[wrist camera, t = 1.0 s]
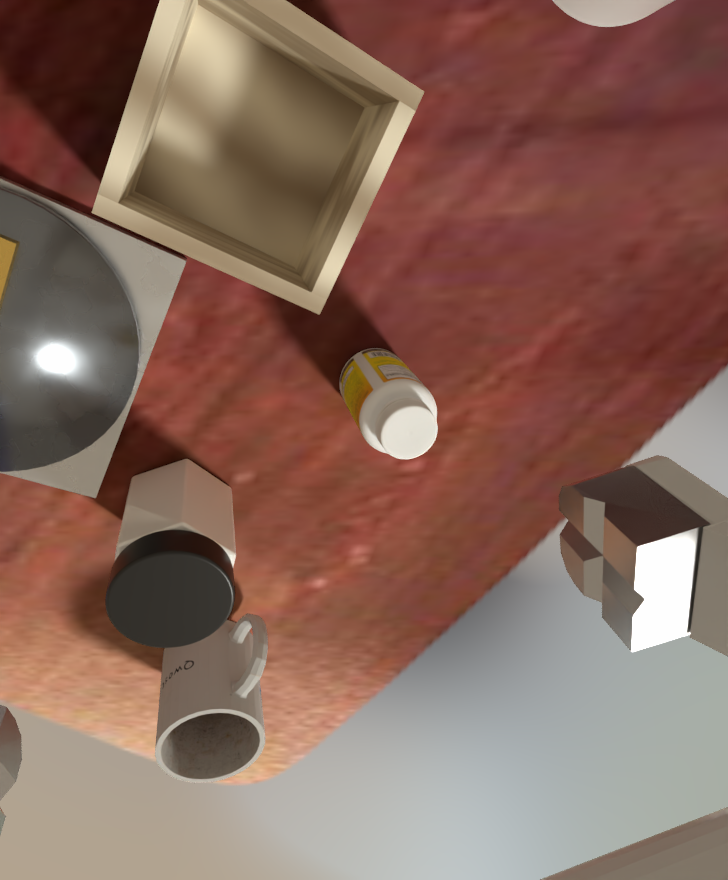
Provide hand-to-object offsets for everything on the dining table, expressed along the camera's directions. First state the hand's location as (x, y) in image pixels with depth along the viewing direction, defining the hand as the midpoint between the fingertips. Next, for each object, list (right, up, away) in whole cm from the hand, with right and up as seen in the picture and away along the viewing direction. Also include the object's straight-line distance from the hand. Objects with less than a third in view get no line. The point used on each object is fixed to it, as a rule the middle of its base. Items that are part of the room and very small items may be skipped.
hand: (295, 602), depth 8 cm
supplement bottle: (+2, +7, +40) cm, 41 cm away
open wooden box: (-6, +21, +30) cm, 38 cm away
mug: (-12, -17, +48) cm, 53 cm away
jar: (-14, -3, +41) cm, 43 cm away
